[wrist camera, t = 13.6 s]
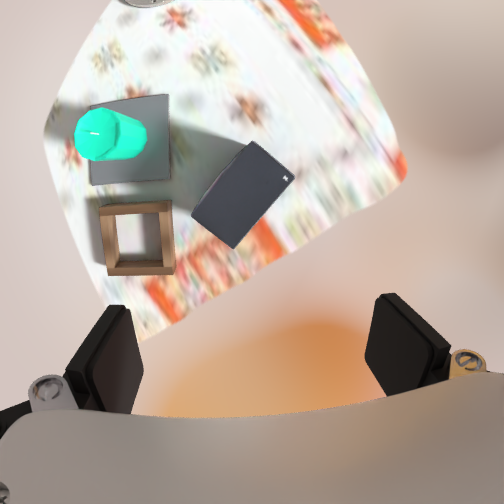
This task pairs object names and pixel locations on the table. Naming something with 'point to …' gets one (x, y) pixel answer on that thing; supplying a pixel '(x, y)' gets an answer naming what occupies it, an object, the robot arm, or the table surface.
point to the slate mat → (156, 148)
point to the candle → (109, 136)
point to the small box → (242, 194)
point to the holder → (112, 248)
